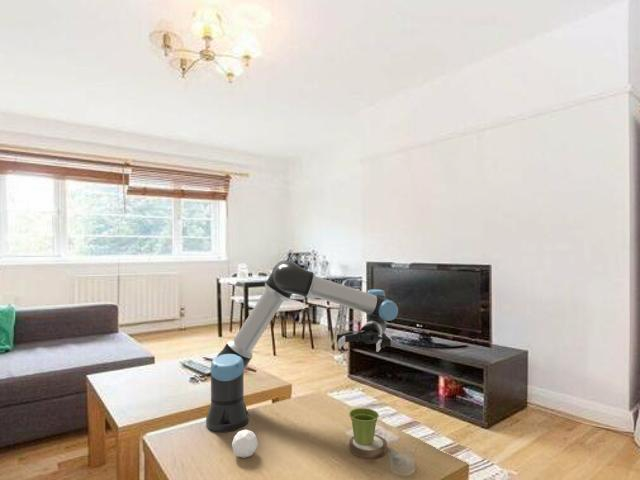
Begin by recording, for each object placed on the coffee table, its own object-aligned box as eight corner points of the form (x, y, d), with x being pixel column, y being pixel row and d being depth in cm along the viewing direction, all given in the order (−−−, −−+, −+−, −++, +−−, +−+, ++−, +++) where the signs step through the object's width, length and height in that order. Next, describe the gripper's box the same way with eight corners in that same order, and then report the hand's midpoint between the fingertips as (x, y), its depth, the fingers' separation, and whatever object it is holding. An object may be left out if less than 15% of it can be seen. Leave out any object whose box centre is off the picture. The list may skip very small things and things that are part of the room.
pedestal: (374, 463, 122) (374, 456, 122) (341, 450, 129) (341, 443, 129) (393, 446, 131) (393, 440, 131) (362, 435, 139) (362, 429, 139)
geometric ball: (249, 460, 128) (263, 436, 131) (245, 465, 121) (260, 439, 123) (229, 447, 130) (243, 423, 132) (224, 450, 122) (240, 425, 125)
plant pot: (360, 430, 138) (360, 405, 138) (384, 439, 132) (384, 413, 132) (343, 441, 131) (343, 414, 131) (368, 451, 125) (368, 423, 124)
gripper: (402, 344, 158) (393, 360, 138) (340, 339, 166) (324, 353, 146) (402, 325, 158) (394, 338, 138) (340, 320, 166) (324, 332, 146)
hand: (358, 346), depth 142 cm, fingers open, 13 cm apart
